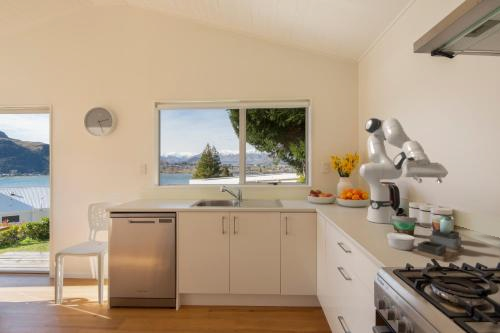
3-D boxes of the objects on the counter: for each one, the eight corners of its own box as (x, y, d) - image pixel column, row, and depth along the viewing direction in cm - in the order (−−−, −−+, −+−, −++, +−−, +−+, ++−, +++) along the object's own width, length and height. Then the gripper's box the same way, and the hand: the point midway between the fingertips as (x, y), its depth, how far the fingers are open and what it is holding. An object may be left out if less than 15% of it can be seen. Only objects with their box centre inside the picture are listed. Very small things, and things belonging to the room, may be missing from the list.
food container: (393, 235, 137) (393, 216, 137) (391, 232, 143) (391, 214, 143) (420, 237, 133) (420, 218, 133) (416, 234, 139) (416, 216, 139)
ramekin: (414, 245, 121) (414, 234, 120) (415, 253, 111) (415, 241, 111) (387, 241, 126) (387, 231, 126) (386, 248, 117) (386, 237, 116)
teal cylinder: (442, 234, 119) (442, 215, 119) (452, 236, 115) (452, 216, 115) (438, 235, 117) (438, 216, 116) (448, 237, 113) (449, 217, 113)
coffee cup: (426, 238, 132) (427, 215, 132) (439, 236, 135) (440, 214, 134) (445, 244, 123) (445, 219, 123) (458, 242, 126) (459, 218, 125)
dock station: (435, 243, 123) (435, 227, 123) (463, 250, 114) (464, 232, 114) (412, 253, 110) (413, 234, 110) (442, 261, 101) (443, 241, 101)
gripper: (437, 167, 138) (449, 186, 129) (398, 166, 141) (406, 185, 131) (443, 158, 134) (455, 178, 124) (402, 158, 136) (411, 177, 127)
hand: (430, 182), depth 128 cm, fingers open, 8 cm apart
